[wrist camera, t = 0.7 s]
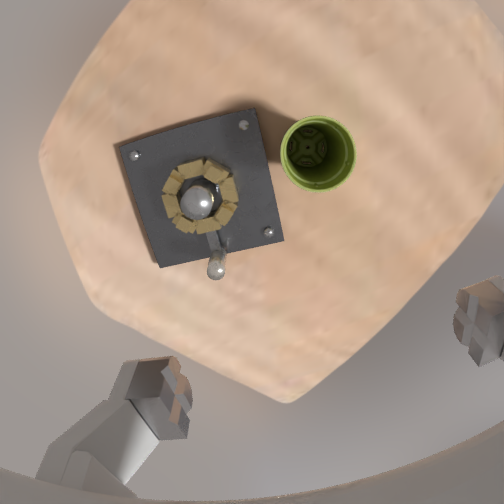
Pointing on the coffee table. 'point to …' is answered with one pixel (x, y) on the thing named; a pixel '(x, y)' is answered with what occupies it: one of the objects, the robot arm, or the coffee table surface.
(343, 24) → the coffee table surface
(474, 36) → the coffee table surface
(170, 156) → the flange plate
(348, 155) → the plant pot
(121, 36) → the coffee table surface
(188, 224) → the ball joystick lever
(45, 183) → the coffee table surface
